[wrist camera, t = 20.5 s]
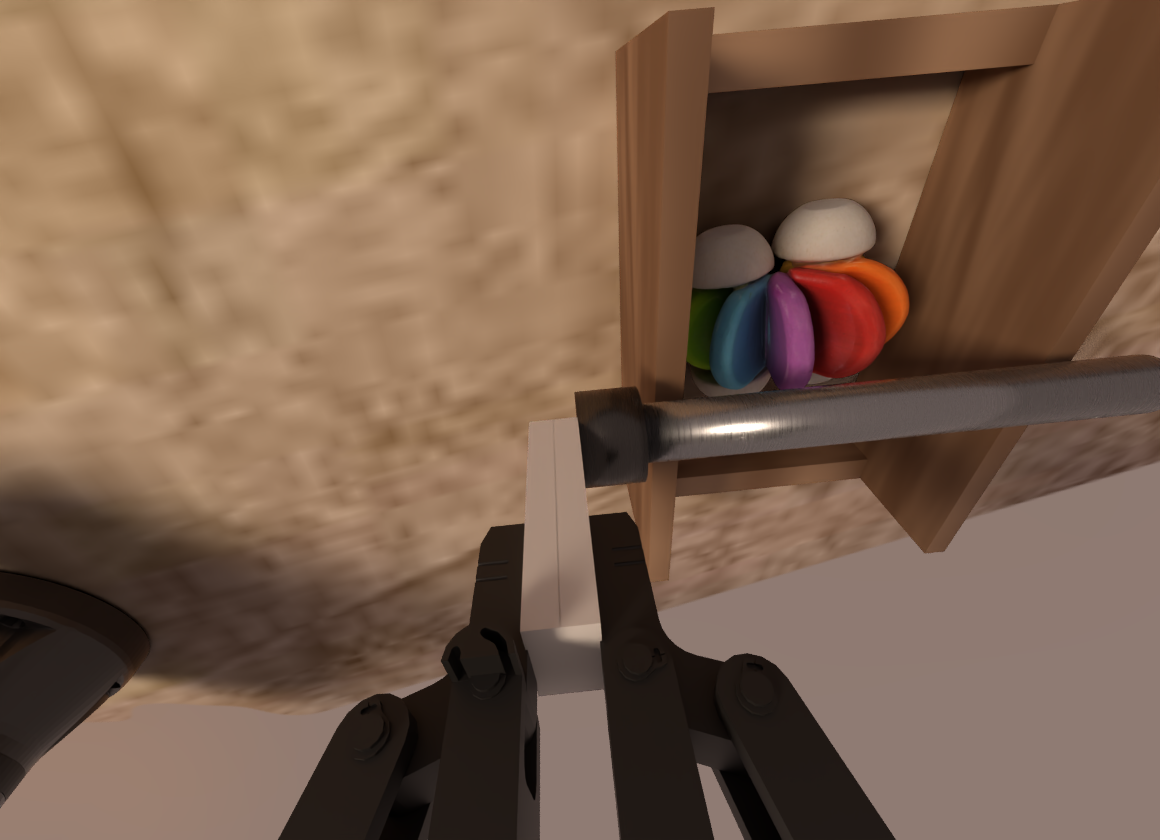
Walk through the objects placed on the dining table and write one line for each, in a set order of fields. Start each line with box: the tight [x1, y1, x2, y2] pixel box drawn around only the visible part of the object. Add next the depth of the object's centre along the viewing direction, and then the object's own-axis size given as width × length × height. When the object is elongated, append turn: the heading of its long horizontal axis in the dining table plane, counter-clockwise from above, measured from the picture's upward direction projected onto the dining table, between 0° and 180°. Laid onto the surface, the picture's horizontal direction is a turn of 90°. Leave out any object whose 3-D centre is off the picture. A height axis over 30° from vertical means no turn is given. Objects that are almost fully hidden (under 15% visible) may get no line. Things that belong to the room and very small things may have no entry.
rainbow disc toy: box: [686, 198, 909, 397], centre depth 20 cm, size 8×10×7 cm
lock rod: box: [575, 355, 1160, 488], centre depth 15 cm, size 19×3×3 cm, turn 94°
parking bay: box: [616, 0, 1160, 582], centre depth 19 cm, size 15×21×8 cm
